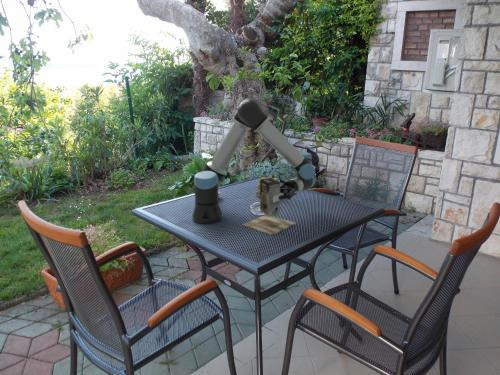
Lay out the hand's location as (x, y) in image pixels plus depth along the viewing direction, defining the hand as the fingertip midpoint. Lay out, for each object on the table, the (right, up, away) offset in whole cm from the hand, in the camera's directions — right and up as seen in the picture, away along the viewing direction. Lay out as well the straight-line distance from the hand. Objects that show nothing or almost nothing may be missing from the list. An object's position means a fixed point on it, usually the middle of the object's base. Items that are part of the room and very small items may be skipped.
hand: (264, 197), depth 189 cm
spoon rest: (-30, -4, +42) cm, 52 cm away
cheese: (+4, -1, +53) cm, 53 cm away
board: (+3, -14, +7) cm, 16 cm away
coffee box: (+3, -8, +6) cm, 10 cm away
